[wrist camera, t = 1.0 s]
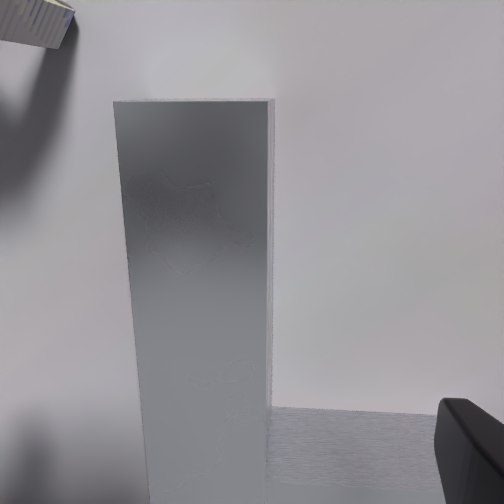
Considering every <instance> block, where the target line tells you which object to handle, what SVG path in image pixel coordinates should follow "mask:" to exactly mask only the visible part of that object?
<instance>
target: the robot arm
mask: <svg viewBox="0 0 504 504" xmlns="http://www.w3.org/2000/svg"><path fill="white" fill-rule="evenodd" d="M434 452H435V457H436V461H437V466H438V470H439V475H440V479H441V484H442V488H443V493H444V497H445V502H446V504H504V424H502V423H501V422H500V421H498V420H497V419H495V418H494V417H492V416H491V415H490V414H488V413H487V412H485V411H484V410H482V409H481V408H480V407H478V406H477V405H475V404H474V403H472V402H471V401H469V400H468V399H464V398H443V399H442V400H441V401H440V403H439V407H438V414H437V421H436V427H435V434H434Z"/></svg>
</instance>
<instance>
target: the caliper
mask: <svg viewBox="0 0 504 504" xmlns="http://www.w3.org/2000/svg"><path fill="white" fill-rule="evenodd" d="M74 13H75V10H74V9H73V8H72V7H71V6H69V5H68V4H67V3H65V2H64V1H61V0H0V40H4V41H10V42H16V43H21V44H27V45H33V46H39V47H45V48H53V49H59V47H60V45H61V42H62V40H63V38H64V36H65V33H66V31H67V29H68V27H69V24H70V22H71V20H72V17H73V15H74Z"/></svg>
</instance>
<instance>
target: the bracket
mask: <svg viewBox="0 0 504 504" xmlns="http://www.w3.org/2000/svg"><path fill="white" fill-rule="evenodd" d="M113 107H114V118H115V128H116V139H117V150H118V161H119V172H120V182H121V193H122V204H123V215H124V226H125V237H126V247H127V258H128V269H129V280H130V291H131V301H132V312H133V323H134V334H135V345H136V356H137V366H138V377H139V388H140V399H141V410H142V420H143V431H144V442H145V453H146V464H147V474H148V485H149V496H150V504H446V502H445V497H444V493H443V488H442V484H441V479H440V475H439V470H438V466H437V461H436V457H435V452H434V434H435V427H436V421H437V415H424V414H405V413H386V412H366V411H347V410H328V409H309V408H290V407H272V343H273V247H274V150H275V98H235V99H145V100H130V101H115V102H113Z"/></svg>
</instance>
